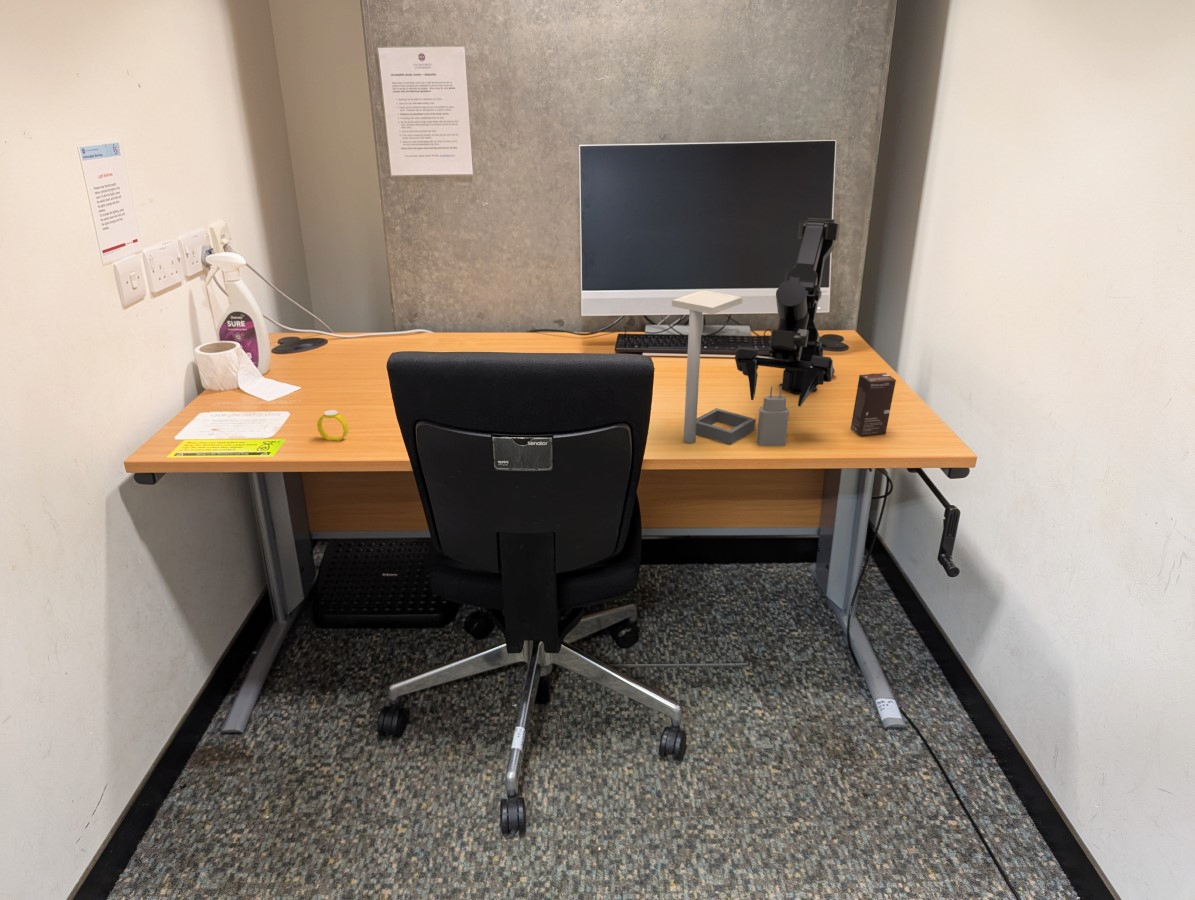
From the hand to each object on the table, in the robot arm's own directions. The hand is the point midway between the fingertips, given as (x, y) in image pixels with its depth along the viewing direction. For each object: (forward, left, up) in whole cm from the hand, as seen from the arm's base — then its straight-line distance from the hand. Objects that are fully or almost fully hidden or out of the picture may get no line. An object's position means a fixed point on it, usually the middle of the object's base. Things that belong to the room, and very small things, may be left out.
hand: (775, 402), depth 158 cm
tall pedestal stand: (+9, -9, -8) cm, 15 cm away
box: (-21, +4, -9) cm, 23 cm away
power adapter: (0, 0, -9) cm, 9 cm away
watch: (+79, -39, -9) cm, 88 cm away
